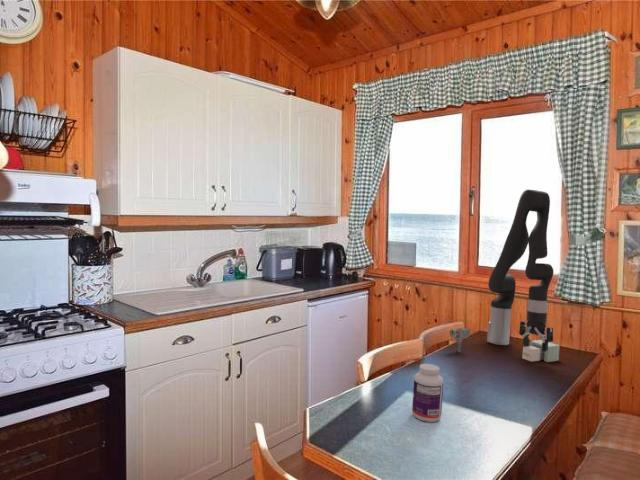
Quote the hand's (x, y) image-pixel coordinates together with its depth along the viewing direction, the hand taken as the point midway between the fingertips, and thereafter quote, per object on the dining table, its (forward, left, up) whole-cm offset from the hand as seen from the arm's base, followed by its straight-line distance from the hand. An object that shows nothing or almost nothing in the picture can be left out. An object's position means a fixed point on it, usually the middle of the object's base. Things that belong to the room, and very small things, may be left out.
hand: (534, 348), depth 185 cm
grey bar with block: (+1, +4, -5) cm, 7 cm away
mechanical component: (-28, -12, -5) cm, 31 cm away
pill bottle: (-15, -85, -5) cm, 86 cm away
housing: (+3, +6, -5) cm, 8 cm away
